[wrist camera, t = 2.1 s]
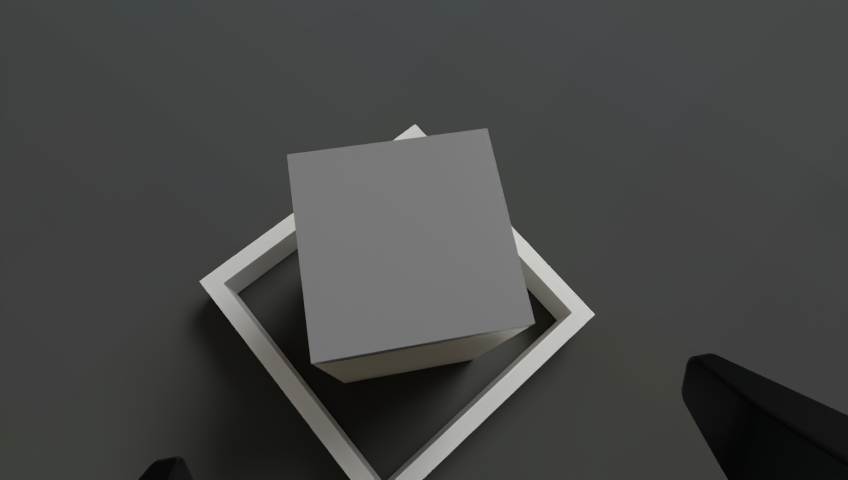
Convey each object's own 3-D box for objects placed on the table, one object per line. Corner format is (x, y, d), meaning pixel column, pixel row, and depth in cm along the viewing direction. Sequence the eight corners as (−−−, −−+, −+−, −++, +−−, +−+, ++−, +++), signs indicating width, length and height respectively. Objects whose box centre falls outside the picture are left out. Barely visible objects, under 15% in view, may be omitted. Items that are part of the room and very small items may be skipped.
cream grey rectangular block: (473, 359, 20) (535, 323, 12) (344, 383, 20) (311, 363, 11) (448, 239, 22) (487, 128, 13) (327, 257, 21) (287, 154, 13)
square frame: (577, 322, 21) (594, 314, 19) (381, 509, 18) (380, 519, 17) (413, 145, 23) (415, 124, 21) (215, 291, 20) (199, 281, 19)
